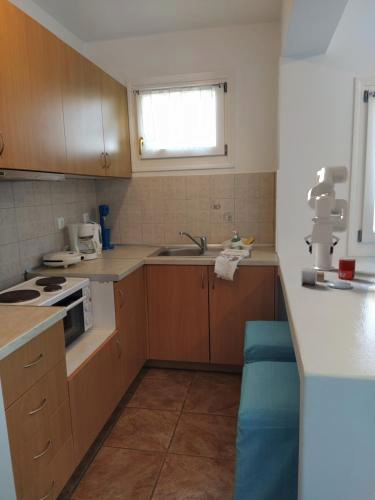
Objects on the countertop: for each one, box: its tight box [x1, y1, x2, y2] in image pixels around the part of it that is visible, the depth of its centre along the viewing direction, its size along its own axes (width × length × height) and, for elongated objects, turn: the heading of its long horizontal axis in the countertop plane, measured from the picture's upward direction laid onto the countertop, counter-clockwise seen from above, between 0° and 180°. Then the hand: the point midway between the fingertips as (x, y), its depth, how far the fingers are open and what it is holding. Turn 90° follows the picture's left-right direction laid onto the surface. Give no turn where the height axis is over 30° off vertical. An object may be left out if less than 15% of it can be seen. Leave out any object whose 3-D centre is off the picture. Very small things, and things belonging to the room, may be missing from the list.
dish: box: [326, 280, 352, 290], centre depth 178 cm, size 11×11×1 cm
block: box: [316, 271, 325, 282], centre depth 191 cm, size 4×4×4 cm
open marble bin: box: [300, 267, 318, 288], centre depth 181 cm, size 7×7×8 cm
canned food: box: [337, 256, 357, 281], centre depth 194 cm, size 8×8×11 cm
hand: (320, 253), depth 189 cm, fingers open, 9 cm apart
